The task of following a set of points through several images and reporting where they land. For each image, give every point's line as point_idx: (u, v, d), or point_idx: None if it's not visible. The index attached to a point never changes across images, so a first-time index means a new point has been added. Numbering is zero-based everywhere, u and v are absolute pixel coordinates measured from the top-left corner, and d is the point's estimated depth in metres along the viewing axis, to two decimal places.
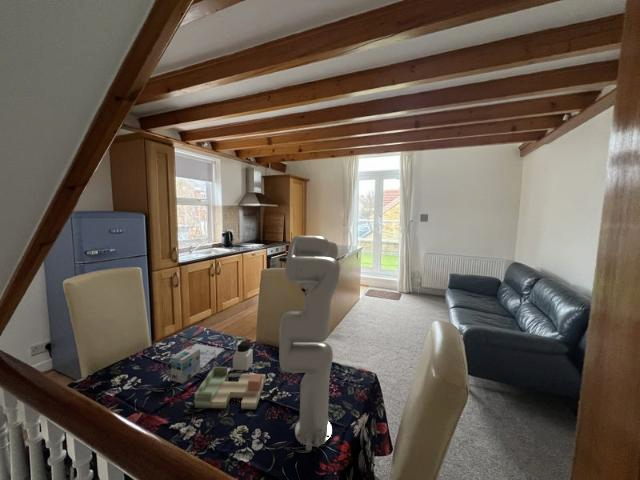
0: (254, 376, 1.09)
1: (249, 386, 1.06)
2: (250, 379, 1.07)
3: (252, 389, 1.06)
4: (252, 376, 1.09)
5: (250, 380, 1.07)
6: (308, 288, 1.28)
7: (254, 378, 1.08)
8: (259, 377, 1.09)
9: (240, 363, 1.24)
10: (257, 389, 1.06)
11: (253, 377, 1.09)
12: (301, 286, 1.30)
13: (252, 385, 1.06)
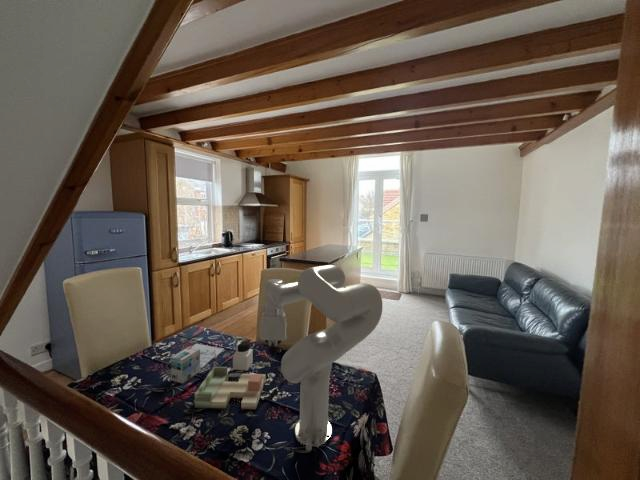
0: (254, 376, 1.09)
1: (249, 386, 1.06)
2: (250, 379, 1.07)
3: (252, 389, 1.06)
4: (252, 376, 1.09)
5: (250, 380, 1.07)
6: (262, 336, 1.04)
7: (254, 378, 1.08)
8: (259, 377, 1.09)
9: (240, 363, 1.24)
10: (257, 389, 1.06)
11: (253, 377, 1.09)
12: (262, 339, 1.06)
13: (252, 385, 1.06)
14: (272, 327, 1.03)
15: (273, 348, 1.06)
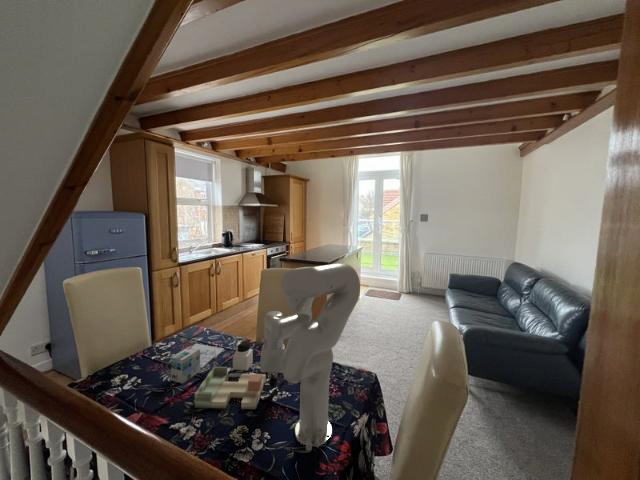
0: (254, 376, 1.09)
1: (249, 386, 1.06)
2: (250, 379, 1.07)
3: (252, 389, 1.06)
4: (252, 376, 1.09)
5: (250, 380, 1.07)
6: (261, 369, 1.05)
7: (254, 378, 1.08)
8: (259, 377, 1.09)
9: (240, 363, 1.24)
10: (257, 389, 1.06)
11: (253, 377, 1.09)
12: None
13: (252, 385, 1.06)
14: (272, 359, 1.05)
15: (273, 380, 1.07)
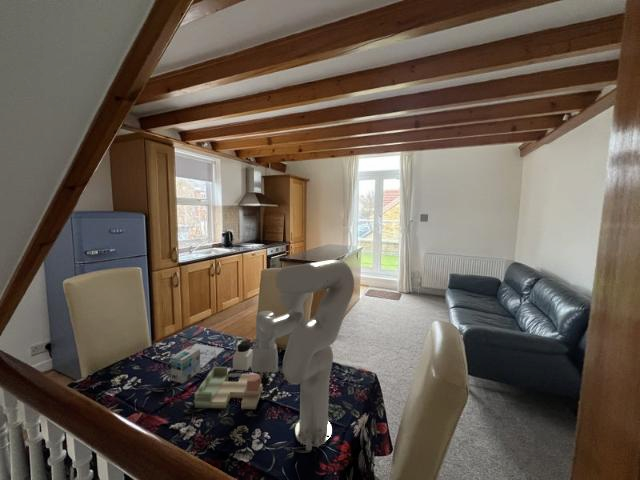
0: (253, 376, 1.09)
1: (248, 386, 1.06)
2: (249, 379, 1.07)
3: (251, 389, 1.06)
4: (251, 376, 1.09)
5: (249, 380, 1.07)
6: (253, 368, 1.05)
7: (253, 378, 1.08)
8: (258, 377, 1.09)
9: (240, 363, 1.24)
10: (256, 389, 1.06)
11: (252, 377, 1.09)
12: None
13: (251, 385, 1.06)
14: (263, 359, 1.05)
15: (264, 379, 1.07)
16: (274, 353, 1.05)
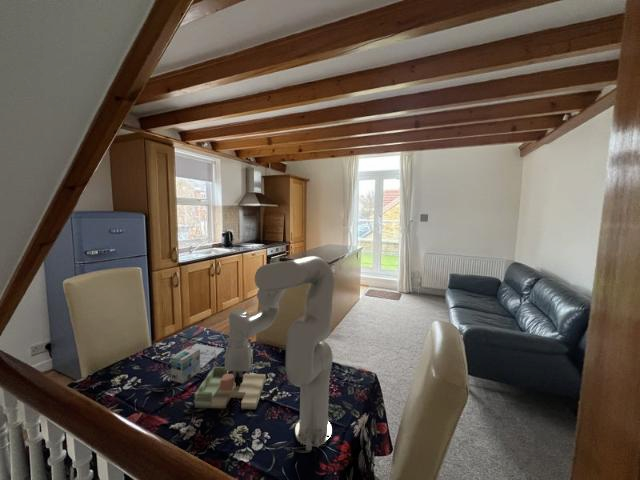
0: (227, 375, 1.09)
1: (221, 385, 1.06)
2: (222, 378, 1.07)
3: (224, 388, 1.06)
4: (225, 375, 1.09)
5: (222, 379, 1.06)
6: (226, 368, 1.05)
7: (227, 377, 1.08)
8: (232, 376, 1.09)
9: None
10: (229, 388, 1.06)
11: (226, 376, 1.09)
12: None
13: (224, 384, 1.06)
14: (236, 358, 1.05)
15: (238, 379, 1.07)
16: (247, 352, 1.05)
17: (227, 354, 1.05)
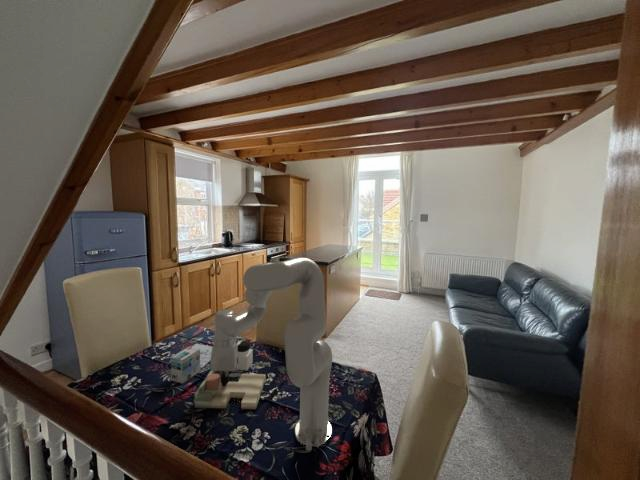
0: (213, 375, 1.09)
1: (207, 385, 1.06)
2: (208, 378, 1.07)
3: (210, 388, 1.06)
4: (211, 375, 1.09)
5: (208, 379, 1.06)
6: (212, 367, 1.05)
7: (213, 377, 1.08)
8: (218, 376, 1.09)
9: (240, 363, 1.24)
10: (215, 388, 1.06)
11: (212, 376, 1.09)
12: None
13: (210, 384, 1.06)
14: (222, 358, 1.05)
15: (224, 378, 1.07)
16: (233, 352, 1.05)
17: (213, 354, 1.05)
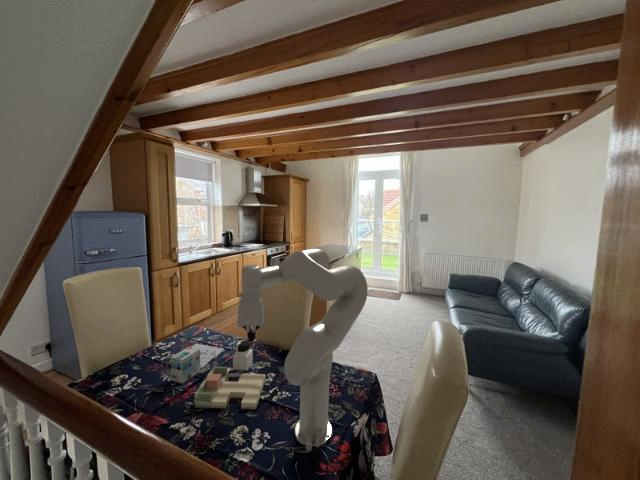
0: (213, 375, 1.09)
1: (207, 385, 1.06)
2: (208, 378, 1.07)
3: (210, 388, 1.06)
4: (211, 375, 1.09)
5: (208, 379, 1.06)
6: (239, 322, 1.04)
7: (213, 377, 1.08)
8: (218, 376, 1.08)
9: (240, 363, 1.24)
10: (215, 388, 1.06)
11: (212, 376, 1.09)
12: None
13: (210, 384, 1.06)
14: (249, 312, 1.03)
15: (251, 334, 1.05)
16: (260, 306, 1.04)
17: (240, 308, 1.03)
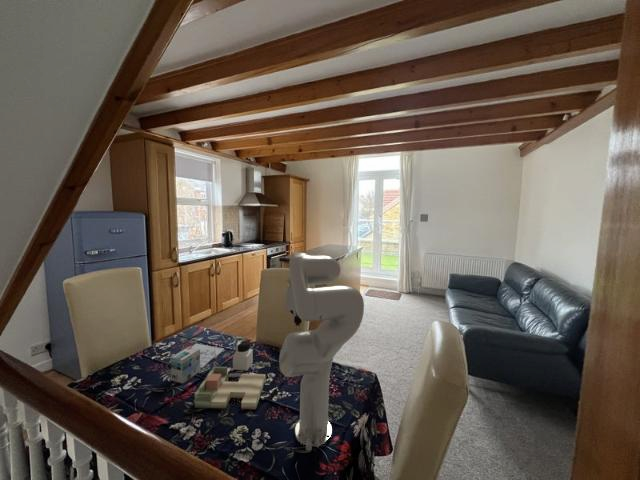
0: (213, 375, 1.09)
1: (207, 385, 1.06)
2: (208, 378, 1.07)
3: (210, 388, 1.06)
4: (211, 375, 1.09)
5: (208, 379, 1.06)
6: (287, 307, 1.09)
7: (213, 377, 1.08)
8: (218, 376, 1.08)
9: (240, 363, 1.24)
10: (215, 388, 1.06)
11: (212, 376, 1.09)
12: (288, 309, 1.11)
13: (210, 384, 1.06)
14: None
15: (298, 318, 1.10)
16: None
17: (288, 293, 1.08)
